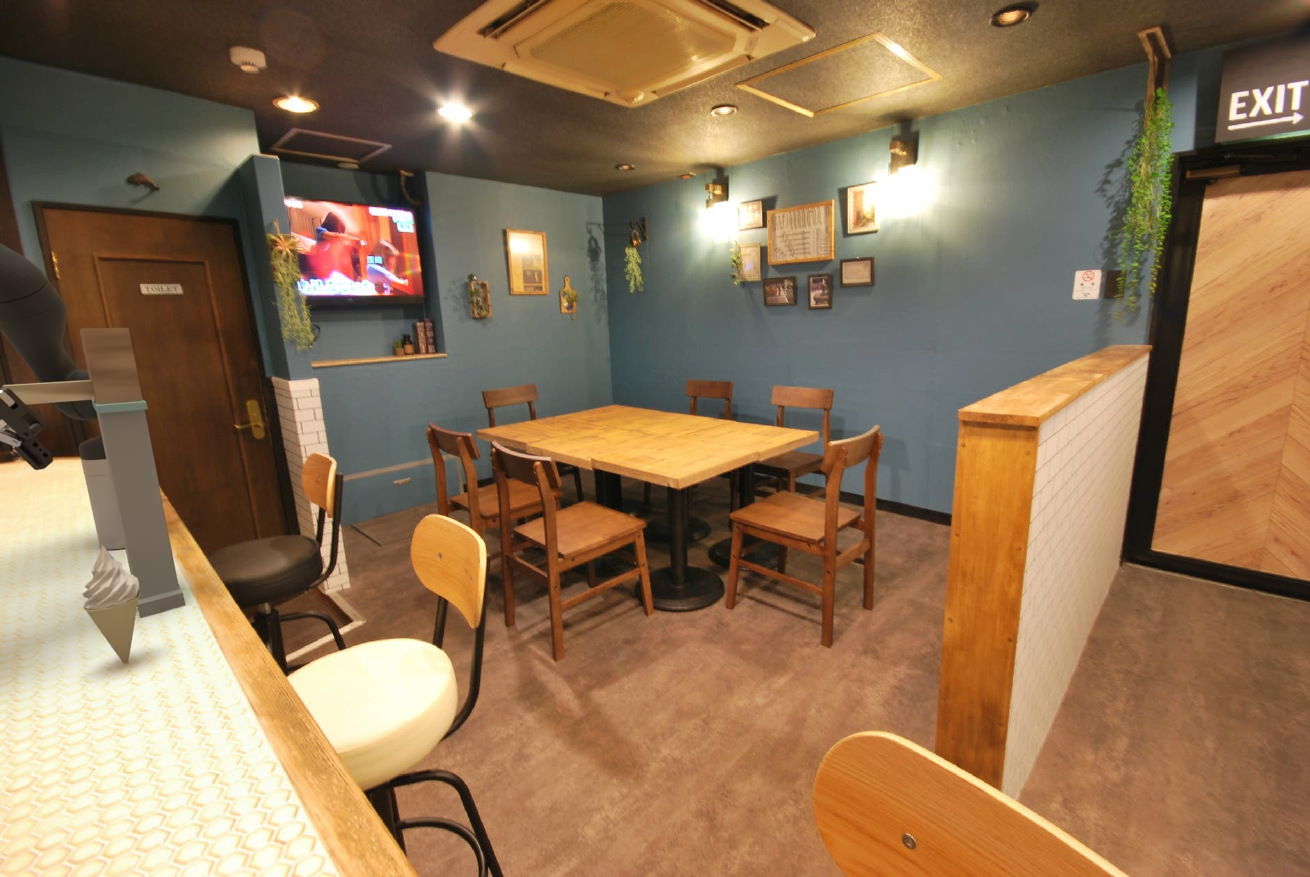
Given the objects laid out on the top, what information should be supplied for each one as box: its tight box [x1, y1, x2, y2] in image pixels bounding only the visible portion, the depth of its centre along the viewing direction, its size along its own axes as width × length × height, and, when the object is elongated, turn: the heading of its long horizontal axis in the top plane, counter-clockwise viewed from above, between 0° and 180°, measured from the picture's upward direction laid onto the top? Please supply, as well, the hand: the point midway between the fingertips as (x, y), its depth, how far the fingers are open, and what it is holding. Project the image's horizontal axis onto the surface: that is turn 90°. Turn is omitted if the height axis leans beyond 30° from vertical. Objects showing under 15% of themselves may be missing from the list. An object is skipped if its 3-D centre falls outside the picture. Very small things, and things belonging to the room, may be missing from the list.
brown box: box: [1, 327, 144, 406], centre depth 78 cm, size 10×13×10 cm
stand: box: [92, 399, 186, 619], centre depth 85 cm, size 14×5×30 cm, turn 46°
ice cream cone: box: [81, 545, 140, 664], centre depth 69 cm, size 5×5×15 cm
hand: (11, 472), depth 72 cm, fingers open, 8 cm apart
